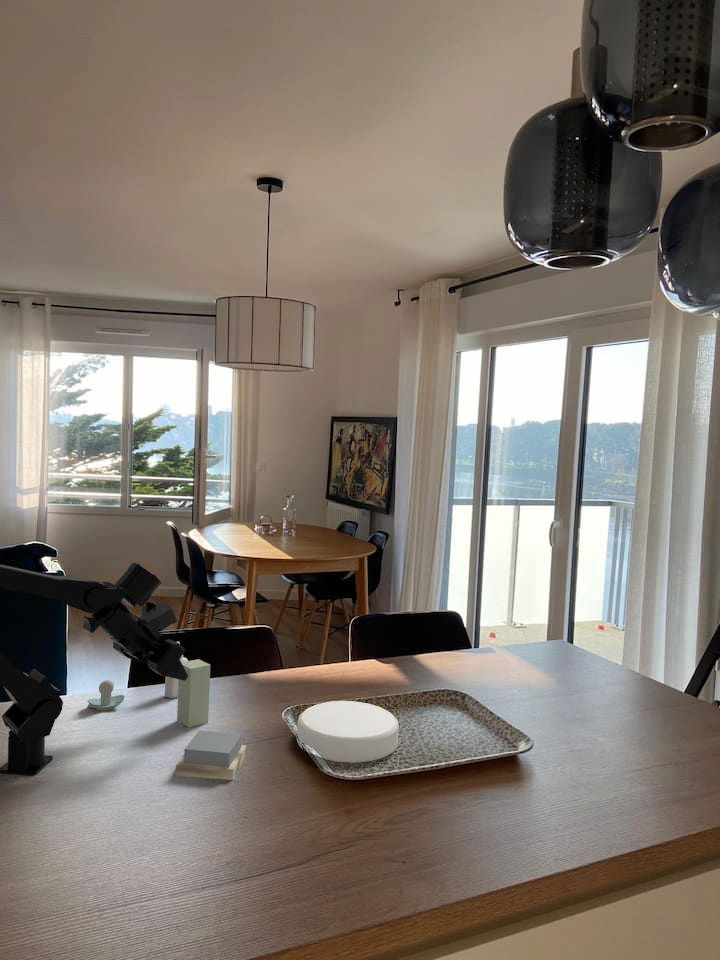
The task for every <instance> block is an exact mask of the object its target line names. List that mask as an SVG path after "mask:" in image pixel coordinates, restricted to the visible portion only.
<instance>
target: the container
mask: <svg viewBox="0 0 720 960" xmlns="http://www.w3.org/2000/svg"><path fill="white" fill-rule="evenodd" d="M296 724H297V725H296V737H297V736H298V738H299V739H300V742H299V741H298V739H297V738H296V741H297V744H298V746H299V748H301V749H302V750H303V748H302V745H301V742H303V743H305V744H306V745H308V746H309V747H311V748H313V749H314V750H315V751H316V752H317V753H318V754H319V755H320V756H321V757H322V758H324V759H323V760H327V761H332V762H338V763H339V762H340V763H363V762H365V763H366V762H372V761H375V760H379V759H383V758H386V757H387V756H389V755H391V754H392V753H394V752H395V750H396V749H397V747H399V732H400V731H399V730H400V727H399V721H398V719H397V717H395V716H394V715H393V714H392V712H390V711H388V710H386V709H384V708H383V707H381V706H378V705H375V704H371V703H367V702H360V701H351V700H350V701H349V700H336V701H326V702H322V703H317V704H314V705H313V706H310V707H307V708H306V709H305V710H304V711H303V712H302V713H301V714H299V716H298V719H297V723H296ZM322 758H321V759H322Z"/></svg>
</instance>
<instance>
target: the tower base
mask: <svg viewBox="0 0 720 960" xmlns="http://www.w3.org/2000/svg"><path fill="white" fill-rule="evenodd" d="M246 755H247V745H246V744H241V749H240V750H239V752H238V754H237V755H236V757H235V759H234V760H233V762H232V763H231V765H230V767H221V766H210V765H199V764H189V763H184V754H182V756H181V757H180V759H179V761H178V762H177V763H176V765H175V776H176V777H177V775H178V777H191V778H200V777H201V779H202V778H204V779H213V778H214V779H215V780H229V781H234V779H235V777H236V775H237V773H238V771H239V769H240V767H241V765H242V763H243V762H244V759H245V758H246Z"/></svg>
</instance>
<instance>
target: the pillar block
mask: <svg viewBox="0 0 720 960" xmlns="http://www.w3.org/2000/svg"><path fill="white" fill-rule="evenodd" d="M182 665H183V667H184V669H185V671H186V673H187V675H188V678H187V679H186V680H185V681H184V680H179V682H178V697H177V717H176V721H177V722H179V723H180V724H181V725H183V726H184V727H186V728H188V729H189V728H193V727H197V726H200V725H203V724H208V723H209V712H210V710H209V709H210V708H209V707H210V686H211V685H210V684H211V683H210V682H211V664H210V663H208V662H205V661H203V660H201V659H199V658H198V659H194V660H193V659H192V660H188V661H187V662H182Z"/></svg>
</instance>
